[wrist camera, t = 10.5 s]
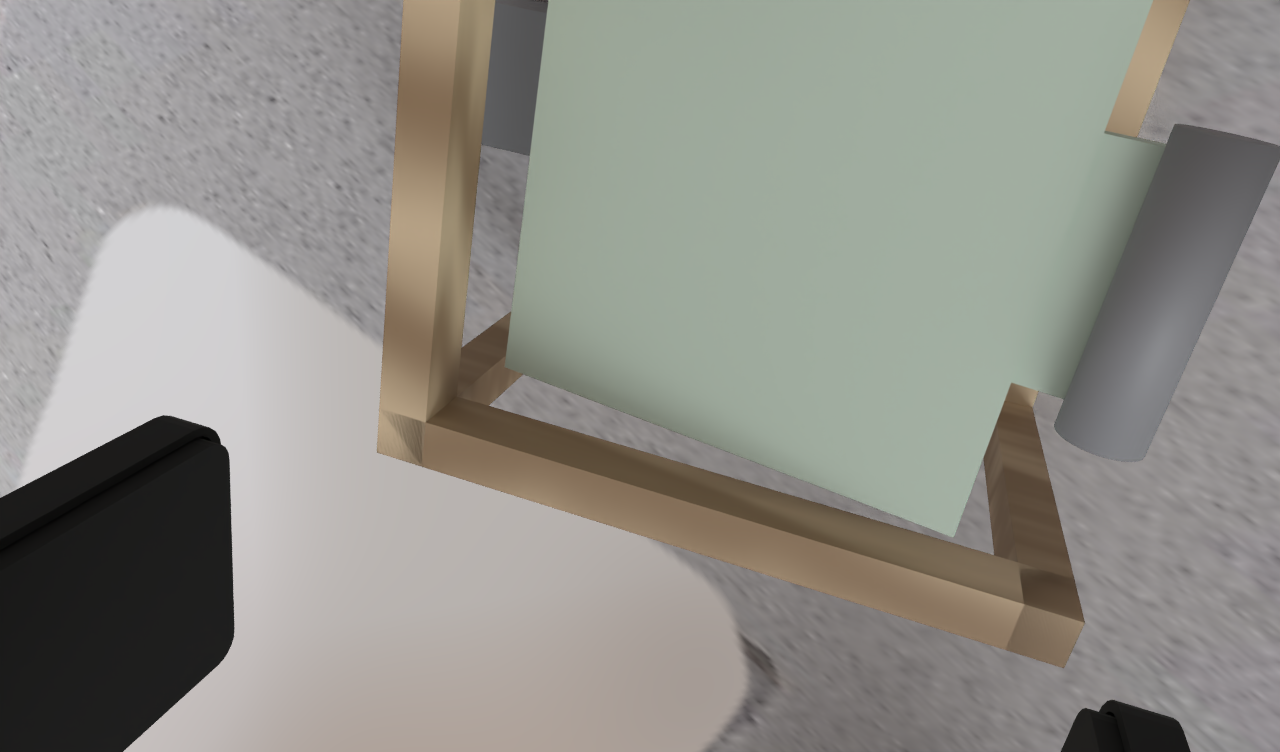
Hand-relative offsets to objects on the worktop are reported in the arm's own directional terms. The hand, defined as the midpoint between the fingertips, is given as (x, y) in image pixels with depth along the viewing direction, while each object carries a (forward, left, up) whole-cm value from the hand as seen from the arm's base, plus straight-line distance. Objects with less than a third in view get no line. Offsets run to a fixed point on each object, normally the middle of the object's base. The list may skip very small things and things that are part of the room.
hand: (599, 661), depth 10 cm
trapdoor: (+2, -1, -17) cm, 17 cm away
